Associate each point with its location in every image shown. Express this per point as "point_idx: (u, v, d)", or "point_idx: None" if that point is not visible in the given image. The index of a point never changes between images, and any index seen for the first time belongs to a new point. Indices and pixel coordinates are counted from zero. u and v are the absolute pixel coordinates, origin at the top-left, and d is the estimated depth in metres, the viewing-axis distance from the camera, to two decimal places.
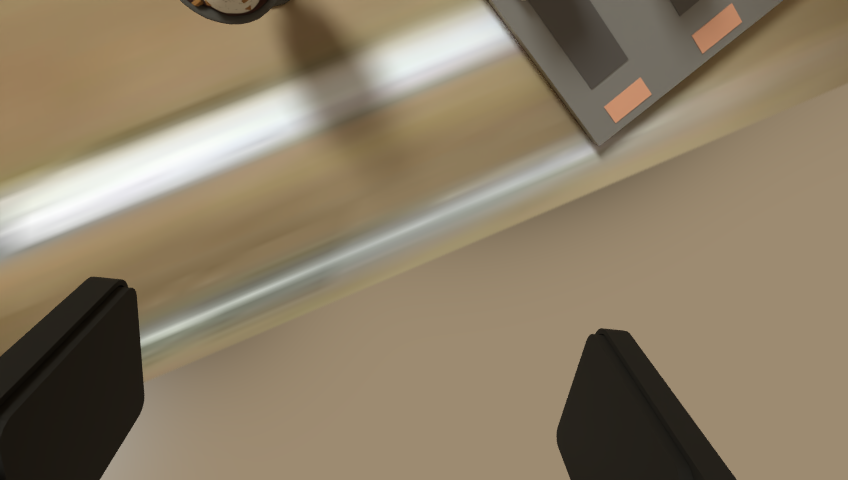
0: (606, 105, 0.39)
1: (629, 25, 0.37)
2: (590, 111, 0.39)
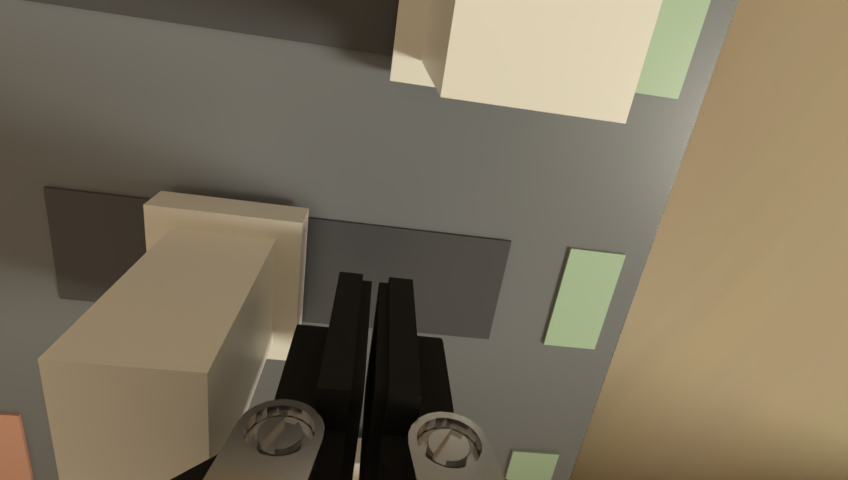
0: None
1: (112, 71, 0.12)
2: None
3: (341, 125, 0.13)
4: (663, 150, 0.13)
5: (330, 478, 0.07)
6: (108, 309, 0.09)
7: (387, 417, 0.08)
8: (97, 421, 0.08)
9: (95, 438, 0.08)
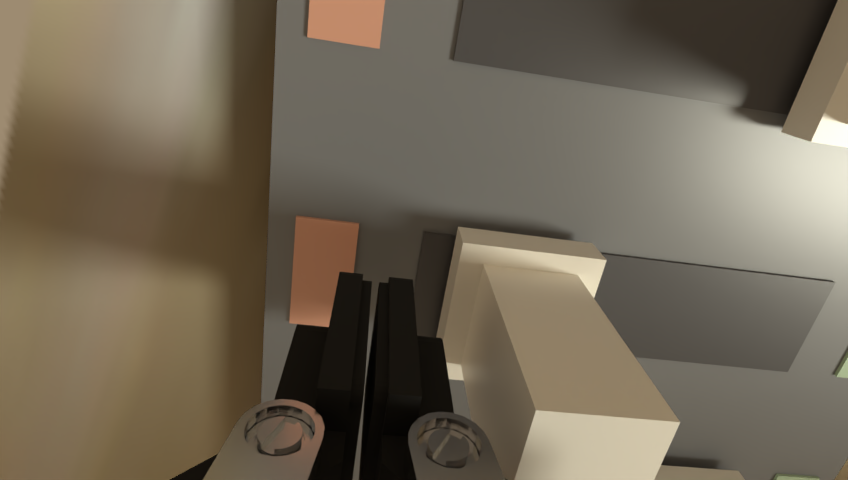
0: None
1: (517, 126, 0.13)
2: None
3: (711, 175, 0.14)
4: None
5: (330, 478, 0.07)
6: (532, 355, 0.09)
7: (387, 417, 0.08)
8: (561, 466, 0.09)
9: None
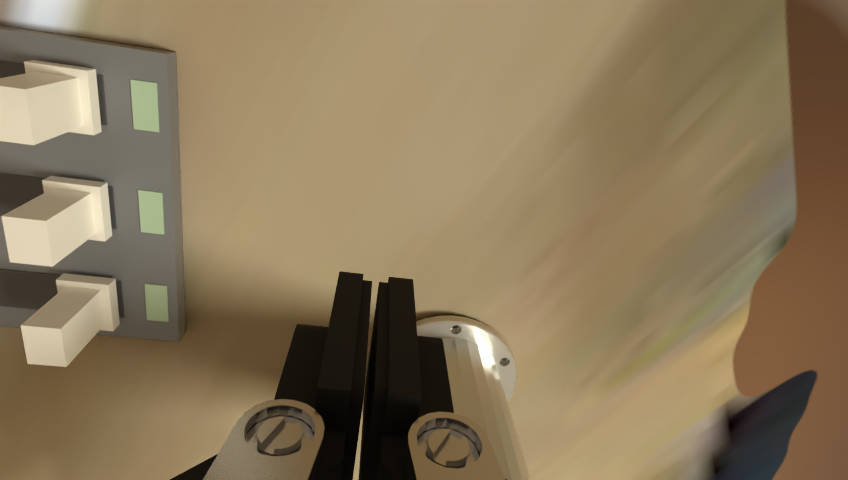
0: None
1: None
2: None
3: None
4: (162, 151, 0.35)
5: (330, 478, 0.07)
6: (23, 207, 0.31)
7: (387, 417, 0.08)
8: (17, 235, 0.31)
9: (17, 240, 0.31)
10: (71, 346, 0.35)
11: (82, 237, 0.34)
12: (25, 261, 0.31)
